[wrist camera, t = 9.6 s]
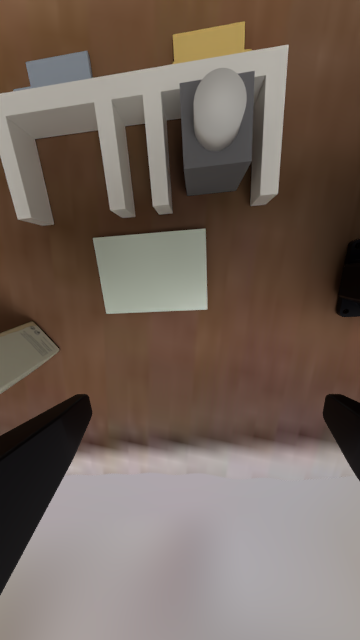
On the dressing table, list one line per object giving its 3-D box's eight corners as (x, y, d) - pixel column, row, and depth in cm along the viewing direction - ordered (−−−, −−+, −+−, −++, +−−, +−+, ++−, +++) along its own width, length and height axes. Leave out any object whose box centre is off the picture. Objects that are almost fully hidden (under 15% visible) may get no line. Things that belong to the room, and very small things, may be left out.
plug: (236, 130, 14) (264, 40, 9) (235, 190, 15) (259, 146, 10) (184, 137, 15) (176, 55, 9) (187, 196, 16) (182, 156, 10)
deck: (205, 229, 16) (205, 228, 16) (207, 308, 18) (207, 309, 18) (96, 238, 17) (92, 237, 17) (109, 312, 19) (106, 313, 19)
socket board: (275, 20, 12) (294, -38, 10) (265, 204, 15) (277, 193, 13) (4, 70, 14) (-34, 31, 12) (42, 225, 17) (17, 219, 15)
